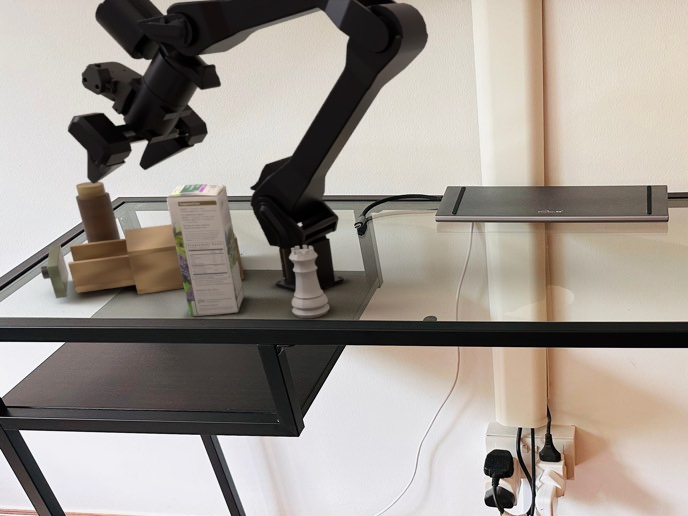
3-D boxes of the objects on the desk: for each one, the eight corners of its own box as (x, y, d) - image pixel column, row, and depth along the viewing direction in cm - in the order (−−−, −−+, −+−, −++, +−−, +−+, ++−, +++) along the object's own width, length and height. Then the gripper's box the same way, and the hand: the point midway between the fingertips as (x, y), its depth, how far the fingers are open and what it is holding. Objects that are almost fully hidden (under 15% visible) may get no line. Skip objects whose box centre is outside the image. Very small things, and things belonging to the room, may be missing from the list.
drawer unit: (138, 294, 106) (127, 251, 104) (134, 269, 115) (124, 229, 113) (244, 279, 111) (236, 237, 109) (233, 256, 120) (225, 217, 118)
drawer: (45, 300, 102) (35, 268, 100) (48, 276, 110) (39, 247, 108) (162, 283, 108) (155, 253, 106) (157, 262, 116) (150, 233, 114)
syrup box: (198, 300, 104) (173, 184, 97) (246, 297, 105) (225, 182, 98) (189, 317, 99) (162, 196, 92) (240, 313, 100) (218, 193, 93)
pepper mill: (129, 262, 118) (109, 184, 113) (97, 268, 116) (76, 189, 111) (121, 255, 121) (102, 179, 116) (90, 260, 119) (69, 183, 114)
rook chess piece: (320, 320, 98) (311, 255, 94) (285, 317, 99) (275, 252, 95) (336, 307, 102) (328, 243, 98) (302, 304, 102) (293, 241, 99)
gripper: (171, 34, 110) (125, 118, 118) (57, 42, 94) (13, 139, 102) (232, 98, 111) (181, 177, 119) (129, 117, 95) (79, 206, 104)
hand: (117, 173), depth 111 cm, fingers open, 9 cm apart
